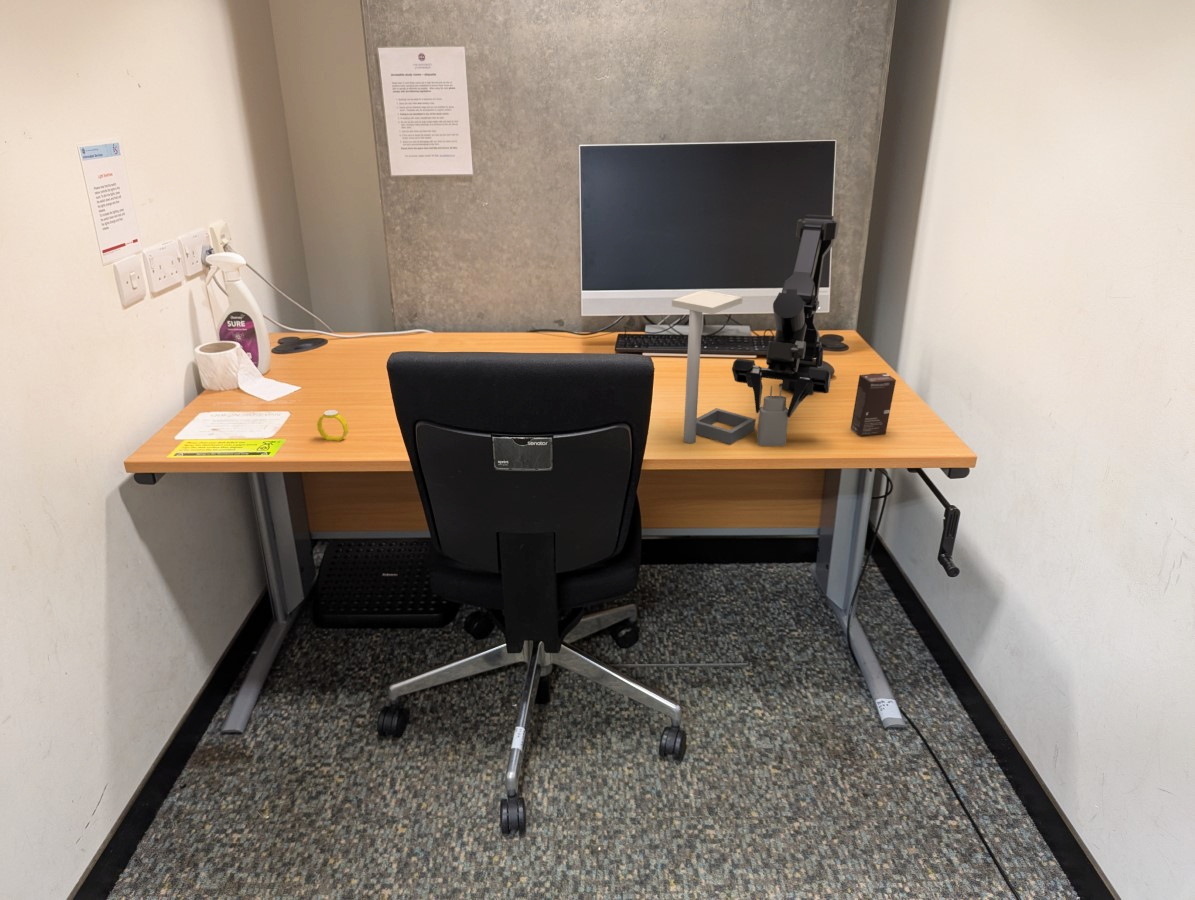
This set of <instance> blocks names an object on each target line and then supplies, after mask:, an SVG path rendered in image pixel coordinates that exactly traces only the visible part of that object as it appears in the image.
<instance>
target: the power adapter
mask: <svg viewBox="0 0 1195 900" xmlns="http://www.w3.org/2000/svg"><path fill="white" fill-rule="evenodd" d="M782 389H783V388H782V386H779V394H778V395H773V386H772V385H771V386H770V390H769V395H766V396H764V397H763V405H762V406H760V409H759V413H758V423H757V434H756V443H757V445H758V446H759V447H784V446H786V443H787V436H788V434H787V433H788V426H789V417H787V414H788V409H789V407H787V399H788V398H787V397H785V396H783V395H782Z"/></svg>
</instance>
